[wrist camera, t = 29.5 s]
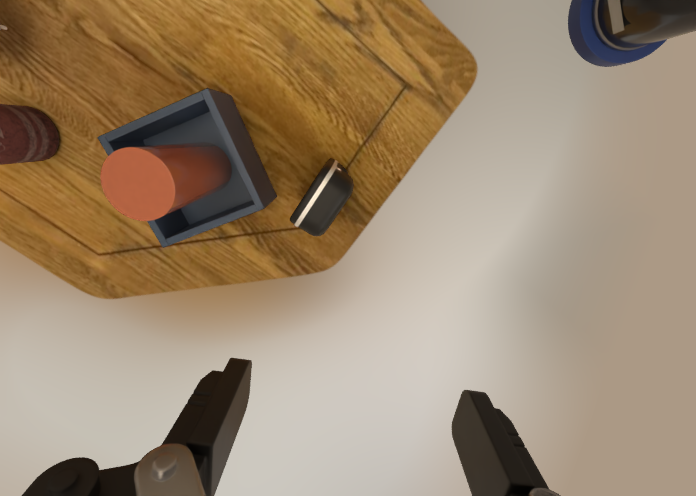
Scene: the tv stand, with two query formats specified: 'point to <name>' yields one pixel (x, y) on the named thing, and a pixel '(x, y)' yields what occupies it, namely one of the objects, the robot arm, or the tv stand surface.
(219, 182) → the orange cylinder rod
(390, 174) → the tv stand surface
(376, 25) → the tv stand surface
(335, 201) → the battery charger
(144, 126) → the tub
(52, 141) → the can
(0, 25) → the spinning top
